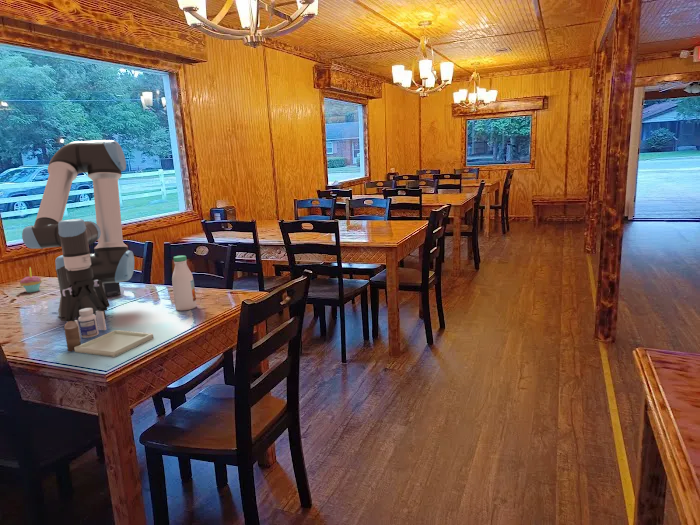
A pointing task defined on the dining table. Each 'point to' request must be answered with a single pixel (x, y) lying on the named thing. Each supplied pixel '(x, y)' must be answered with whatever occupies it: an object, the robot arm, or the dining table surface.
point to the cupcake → (31, 283)
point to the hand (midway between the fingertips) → (90, 334)
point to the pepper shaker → (72, 335)
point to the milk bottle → (183, 285)
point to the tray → (114, 343)
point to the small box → (111, 289)
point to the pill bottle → (88, 323)
